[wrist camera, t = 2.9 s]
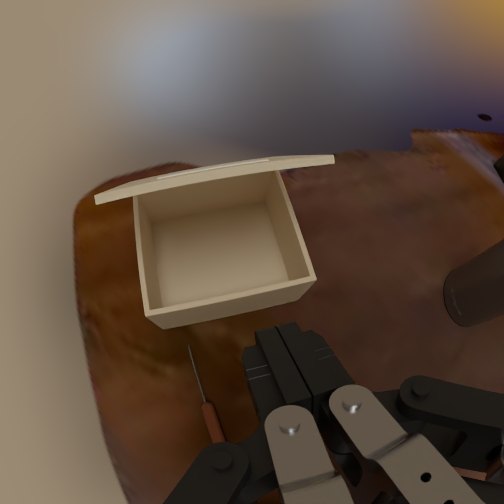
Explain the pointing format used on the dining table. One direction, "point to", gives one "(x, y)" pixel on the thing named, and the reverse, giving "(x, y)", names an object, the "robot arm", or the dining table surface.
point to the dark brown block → (500, 167)
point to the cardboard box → (219, 249)
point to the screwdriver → (210, 415)
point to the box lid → (211, 174)
